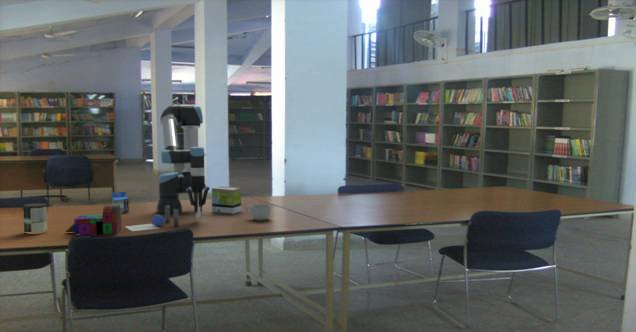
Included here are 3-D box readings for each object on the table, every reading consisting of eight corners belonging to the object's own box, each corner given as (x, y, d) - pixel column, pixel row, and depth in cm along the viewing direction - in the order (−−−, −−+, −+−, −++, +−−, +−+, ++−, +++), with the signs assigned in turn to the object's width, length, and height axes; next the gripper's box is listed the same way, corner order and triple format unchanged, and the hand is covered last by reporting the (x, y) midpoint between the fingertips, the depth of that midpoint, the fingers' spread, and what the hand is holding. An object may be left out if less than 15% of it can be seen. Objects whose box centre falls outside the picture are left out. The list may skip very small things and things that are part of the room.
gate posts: (164, 222, 300) (164, 205, 299) (169, 221, 302) (168, 205, 301) (174, 227, 287) (174, 209, 286) (179, 226, 289) (179, 209, 288)
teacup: (273, 218, 312) (273, 204, 311) (265, 222, 302) (265, 207, 301) (251, 217, 317) (250, 203, 316) (242, 220, 306) (242, 206, 306)
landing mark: (124, 226, 287) (124, 226, 287) (150, 224, 295) (150, 223, 295) (132, 231, 276) (132, 231, 276) (159, 228, 284) (159, 228, 284)
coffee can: (20, 235, 267) (18, 206, 266) (29, 230, 277) (28, 202, 276) (42, 234, 268) (41, 206, 267) (50, 230, 278) (49, 202, 277)
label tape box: (114, 214, 324) (113, 193, 323) (111, 213, 327) (111, 192, 326) (129, 212, 330) (128, 192, 329) (126, 211, 333) (125, 191, 332)
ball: (161, 224, 294) (150, 225, 290) (161, 213, 293) (150, 213, 290) (165, 227, 289) (154, 227, 285) (165, 215, 288) (154, 216, 285)
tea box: (211, 212, 331) (211, 188, 330) (220, 209, 341) (220, 186, 339) (233, 214, 326) (233, 189, 324) (241, 211, 335) (241, 187, 334)
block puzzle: (123, 228, 286) (122, 201, 284) (116, 235, 269) (116, 206, 268) (72, 229, 282) (71, 202, 280) (62, 236, 265) (61, 207, 264)
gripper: (188, 176, 294) (189, 220, 296) (211, 175, 301) (212, 217, 303) (183, 175, 300) (184, 218, 302) (206, 173, 307) (206, 215, 310)
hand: (198, 217), depth 303 cm, fingers closed
